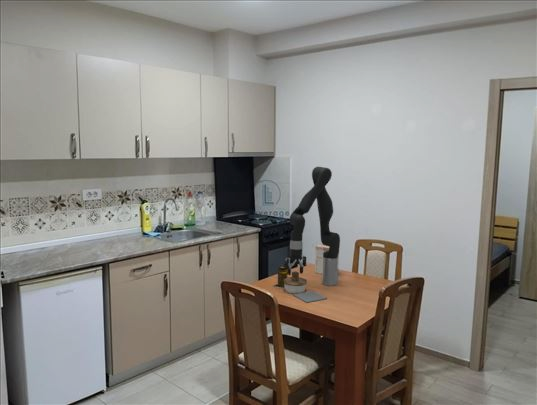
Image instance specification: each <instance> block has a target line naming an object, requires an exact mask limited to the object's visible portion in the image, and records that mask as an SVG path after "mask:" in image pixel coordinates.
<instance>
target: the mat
mask: <svg viewBox="0 0 537 405" xmlns="http://www.w3.org/2000/svg"><path fill="white" fill-rule="evenodd" d="M292 296H293V297H295V298H297V299H299V300H301V301H302V302H305V303H306V304H309V303H313V302H318V301H324V300H328V298H327V297H326V296H325V295H322V294H320V293H318V292H316V291H314V290H310V291H305V292H303V293H298V294H292Z"/></svg>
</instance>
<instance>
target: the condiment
mask: <svg viewBox="0 0 537 405" xmlns="http://www.w3.org/2000/svg"><path fill="white" fill-rule="evenodd" d="M288 276H289V275H288V274H287V268H285V267H284V265H282V266H281V265H280V266H279V267H278V271H277V283H275V284H272V286H273V287H274V288H277V289H285V288H284V284H285V283H284V279H285V278H288Z"/></svg>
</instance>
